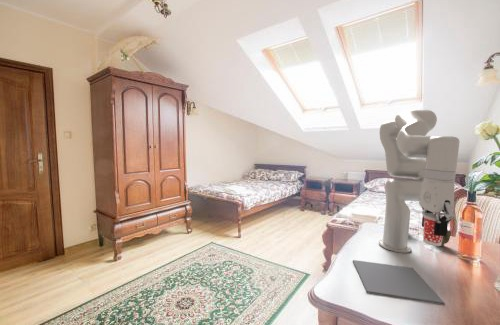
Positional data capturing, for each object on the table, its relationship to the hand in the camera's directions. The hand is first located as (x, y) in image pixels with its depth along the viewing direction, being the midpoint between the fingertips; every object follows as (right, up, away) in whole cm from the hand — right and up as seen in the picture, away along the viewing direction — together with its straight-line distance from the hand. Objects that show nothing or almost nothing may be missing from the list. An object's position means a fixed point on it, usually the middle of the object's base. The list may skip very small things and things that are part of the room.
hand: (433, 230), depth 75 cm
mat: (-10, -18, +5) cm, 22 cm away
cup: (+30, -18, +35) cm, 50 cm away
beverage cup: (0, -4, 0) cm, 4 cm away
